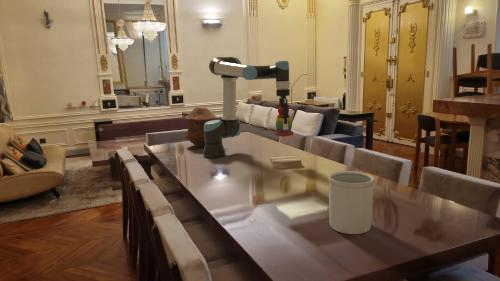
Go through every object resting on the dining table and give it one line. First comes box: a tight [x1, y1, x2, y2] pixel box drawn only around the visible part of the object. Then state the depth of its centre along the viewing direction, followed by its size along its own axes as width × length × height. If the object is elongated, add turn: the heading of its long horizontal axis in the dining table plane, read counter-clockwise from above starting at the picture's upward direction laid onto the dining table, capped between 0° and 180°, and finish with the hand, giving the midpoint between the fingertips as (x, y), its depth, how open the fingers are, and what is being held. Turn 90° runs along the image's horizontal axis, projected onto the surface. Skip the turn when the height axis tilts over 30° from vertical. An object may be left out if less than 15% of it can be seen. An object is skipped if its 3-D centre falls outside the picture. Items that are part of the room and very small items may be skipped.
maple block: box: [269, 154, 302, 169], centre depth 211 cm, size 16×16×4 cm
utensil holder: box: [327, 170, 375, 235], centre depth 122 cm, size 15×15×18 cm
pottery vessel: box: [184, 106, 217, 148], centre depth 276 cm, size 26×26×30 cm
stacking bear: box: [274, 104, 294, 137], centre depth 207 cm, size 11×10×18 cm
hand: (284, 128), depth 207 cm, fingers closed on stacking bear, 9 cm apart
